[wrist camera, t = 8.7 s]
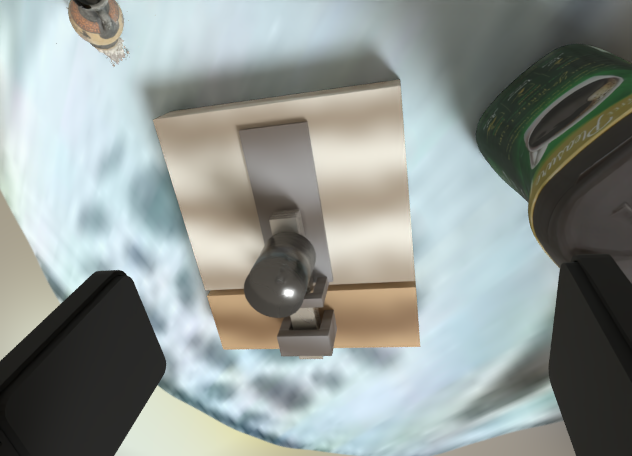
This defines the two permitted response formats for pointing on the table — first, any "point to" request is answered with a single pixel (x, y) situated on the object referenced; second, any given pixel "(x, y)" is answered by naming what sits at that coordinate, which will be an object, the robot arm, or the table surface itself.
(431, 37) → the table surface
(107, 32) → the vase
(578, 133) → the coffee jar
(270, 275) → the dark metal knob
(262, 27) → the table surface
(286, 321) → the lock board
